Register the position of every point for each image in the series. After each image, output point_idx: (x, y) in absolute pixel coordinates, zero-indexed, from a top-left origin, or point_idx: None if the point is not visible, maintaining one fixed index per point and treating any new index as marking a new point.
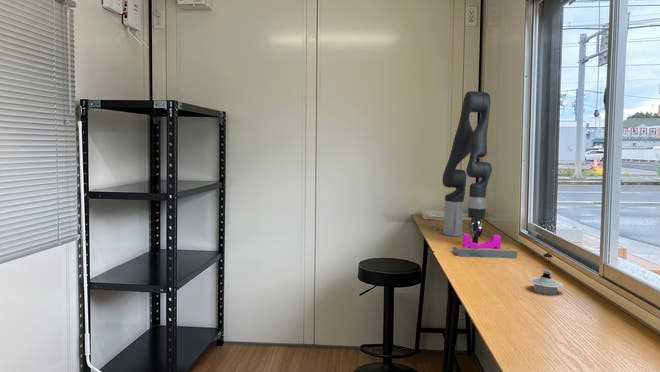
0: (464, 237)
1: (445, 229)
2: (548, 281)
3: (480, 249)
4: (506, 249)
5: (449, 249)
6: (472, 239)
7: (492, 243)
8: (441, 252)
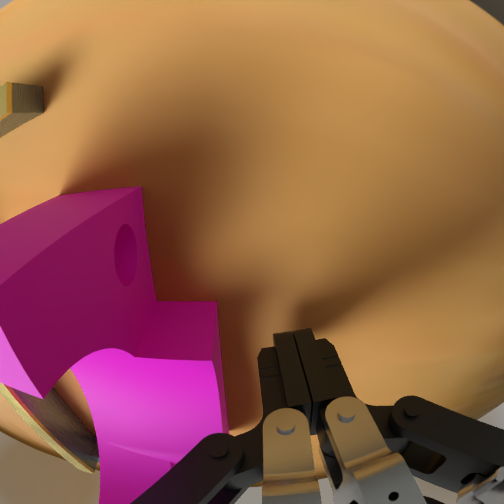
0: None
1: None
2: None
3: None
4: (57, 448)
5: (134, 42)
6: (312, 376)
7: (103, 454)
8: (19, 14)
